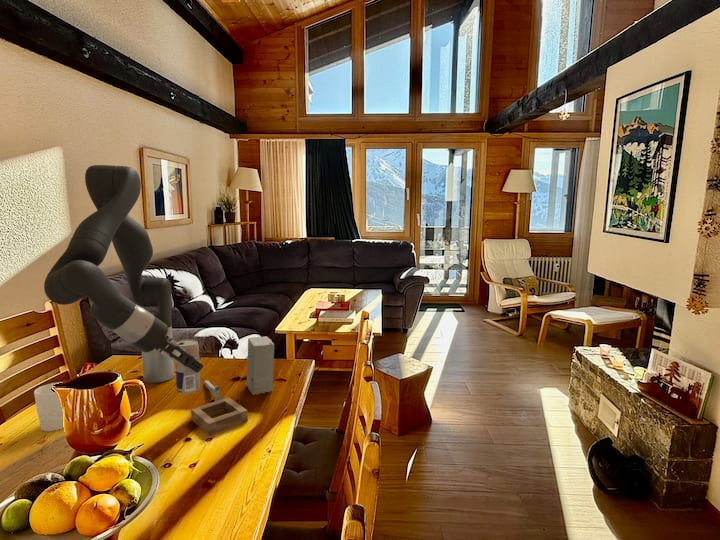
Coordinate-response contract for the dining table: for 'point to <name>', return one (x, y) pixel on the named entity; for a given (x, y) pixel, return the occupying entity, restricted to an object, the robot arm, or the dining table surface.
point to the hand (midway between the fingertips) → (195, 365)
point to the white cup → (48, 408)
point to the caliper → (213, 390)
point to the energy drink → (188, 369)
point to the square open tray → (223, 422)
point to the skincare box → (260, 365)
